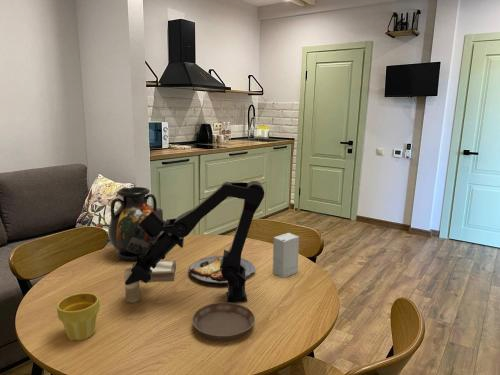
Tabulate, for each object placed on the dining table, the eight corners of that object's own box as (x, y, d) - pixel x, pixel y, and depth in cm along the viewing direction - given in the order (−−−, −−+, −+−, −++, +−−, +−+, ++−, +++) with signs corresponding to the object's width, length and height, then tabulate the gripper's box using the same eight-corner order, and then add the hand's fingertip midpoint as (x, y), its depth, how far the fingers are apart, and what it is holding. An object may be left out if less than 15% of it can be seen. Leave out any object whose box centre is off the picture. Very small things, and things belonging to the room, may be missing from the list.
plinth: (173, 280, 134) (173, 272, 133) (142, 281, 133) (141, 273, 132) (176, 267, 145) (175, 260, 144) (147, 269, 143) (146, 261, 143)
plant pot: (55, 348, 95) (52, 313, 93) (64, 326, 105) (61, 294, 103) (99, 342, 98) (96, 308, 96) (103, 321, 108) (101, 290, 106)
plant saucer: (222, 304, 119) (222, 295, 118) (266, 325, 108) (267, 315, 107) (179, 328, 105) (179, 319, 105) (225, 355, 94) (225, 344, 94)
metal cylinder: (138, 302, 119) (137, 273, 117) (124, 303, 118) (122, 273, 116) (141, 295, 123) (139, 267, 121) (127, 296, 122) (125, 267, 120)
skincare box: (287, 267, 146) (288, 231, 143) (298, 273, 142) (300, 235, 139) (271, 273, 141) (272, 236, 138) (282, 279, 136) (284, 240, 133)
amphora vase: (119, 269, 143) (114, 198, 137) (103, 252, 160) (98, 188, 154) (171, 256, 156) (169, 191, 150) (151, 242, 172) (148, 182, 167)
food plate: (222, 293, 125) (222, 284, 124) (175, 275, 139) (175, 266, 138) (265, 271, 144) (265, 262, 144) (220, 257, 158) (220, 249, 158)
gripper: (146, 221, 125) (114, 253, 126) (136, 240, 107) (99, 277, 108) (171, 242, 128) (139, 274, 129) (165, 265, 110) (129, 301, 111)
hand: (127, 280), depth 119 cm, fingers closed on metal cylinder, 4 cm apart
